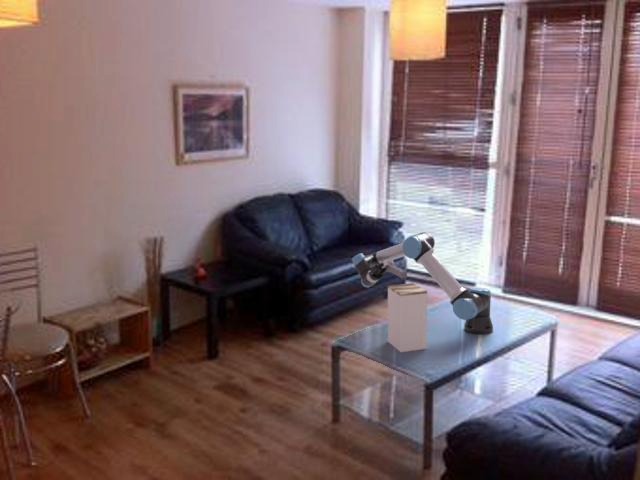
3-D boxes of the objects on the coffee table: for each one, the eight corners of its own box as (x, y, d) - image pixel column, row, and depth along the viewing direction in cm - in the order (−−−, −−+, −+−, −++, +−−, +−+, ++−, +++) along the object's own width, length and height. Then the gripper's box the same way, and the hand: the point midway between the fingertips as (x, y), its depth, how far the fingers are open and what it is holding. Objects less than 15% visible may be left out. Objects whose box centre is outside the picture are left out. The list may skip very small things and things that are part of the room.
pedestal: (387, 341, 331) (387, 285, 325) (412, 338, 335) (412, 283, 329) (400, 352, 316) (400, 293, 310) (426, 348, 320) (427, 290, 314)
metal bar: (381, 266, 346) (381, 261, 345) (386, 266, 347) (386, 260, 346) (401, 278, 321) (401, 272, 321) (406, 277, 322) (406, 271, 322)
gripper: (389, 279, 361) (405, 267, 339) (363, 282, 356) (376, 270, 335) (387, 266, 363) (402, 253, 341) (360, 269, 358) (374, 256, 337)
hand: (389, 262), depth 338 cm, fingers closed on metal bar, 3 cm apart
